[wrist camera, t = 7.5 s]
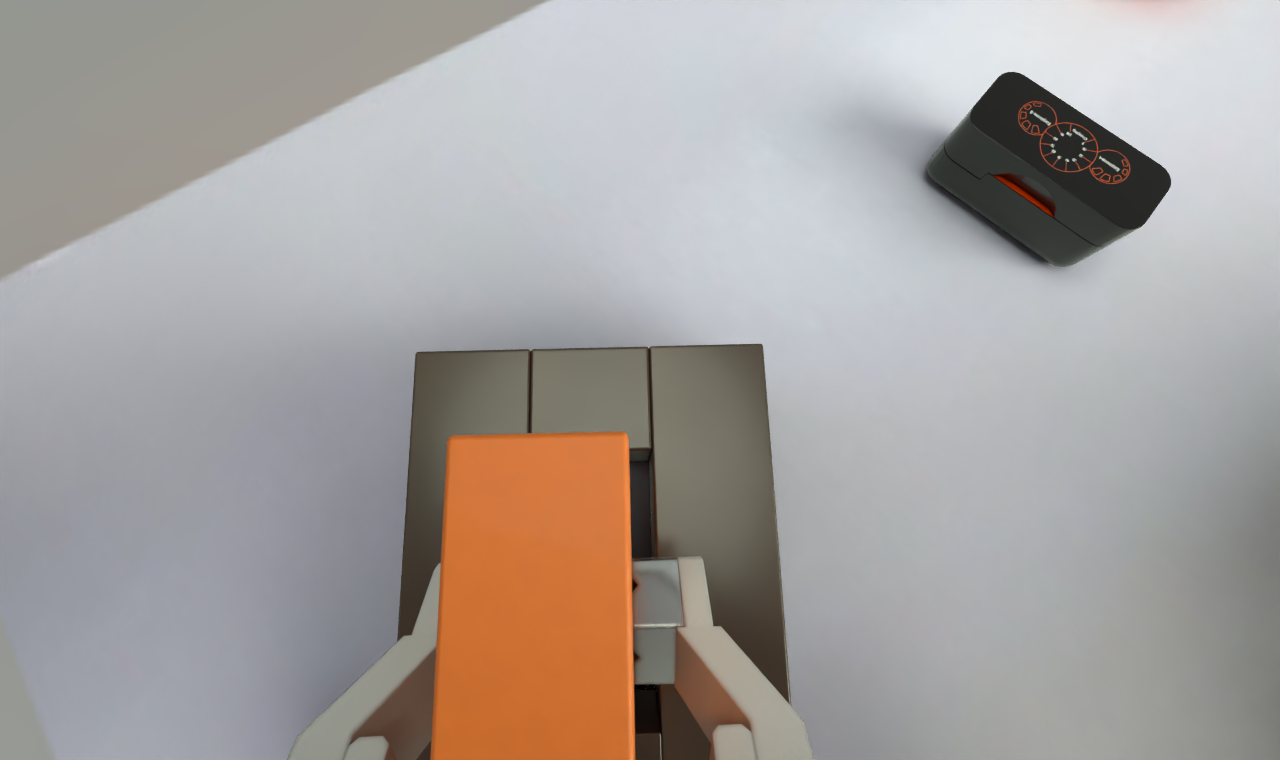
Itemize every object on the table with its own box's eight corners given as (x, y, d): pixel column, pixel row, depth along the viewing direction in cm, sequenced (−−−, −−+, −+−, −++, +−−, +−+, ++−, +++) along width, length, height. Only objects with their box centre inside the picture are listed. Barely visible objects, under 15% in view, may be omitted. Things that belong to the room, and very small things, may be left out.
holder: (432, 808, 17) (380, 885, 13) (453, 378, 20) (414, 351, 16) (770, 796, 17) (804, 869, 13) (740, 371, 20) (763, 342, 16)
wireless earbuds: (1077, 292, 21) (1158, 252, 17) (914, 177, 22) (962, 119, 18) (1141, 204, 21) (1228, 151, 18) (981, 97, 22) (1038, 29, 19)
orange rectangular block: (553, 686, 17) (415, 992, 6) (554, 480, 18) (444, 434, 7) (634, 682, 17) (640, 982, 6) (630, 478, 18) (628, 430, 7)
